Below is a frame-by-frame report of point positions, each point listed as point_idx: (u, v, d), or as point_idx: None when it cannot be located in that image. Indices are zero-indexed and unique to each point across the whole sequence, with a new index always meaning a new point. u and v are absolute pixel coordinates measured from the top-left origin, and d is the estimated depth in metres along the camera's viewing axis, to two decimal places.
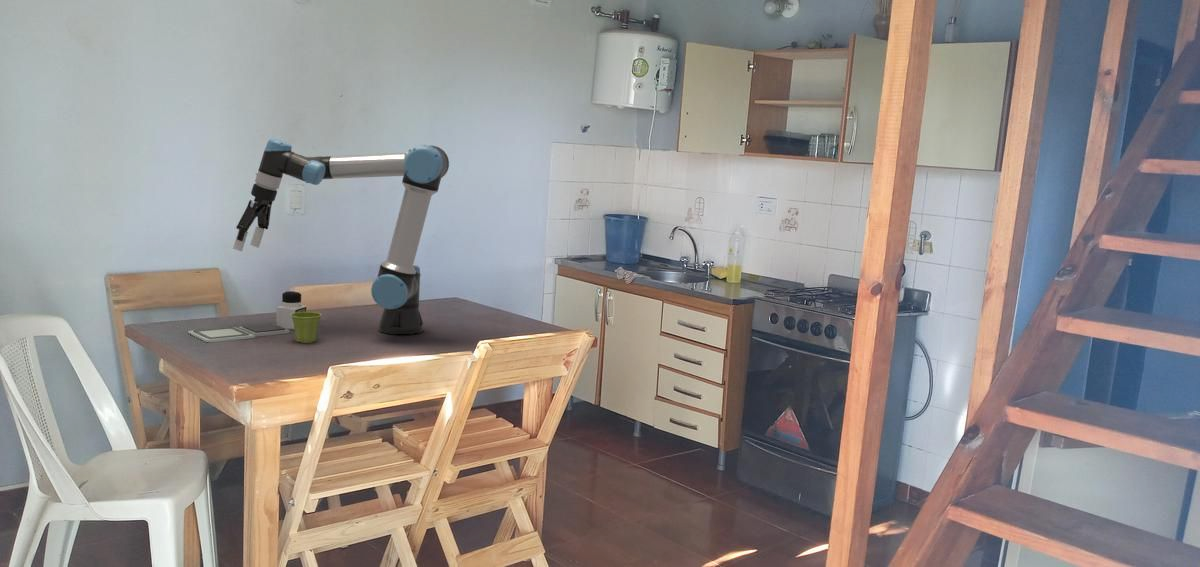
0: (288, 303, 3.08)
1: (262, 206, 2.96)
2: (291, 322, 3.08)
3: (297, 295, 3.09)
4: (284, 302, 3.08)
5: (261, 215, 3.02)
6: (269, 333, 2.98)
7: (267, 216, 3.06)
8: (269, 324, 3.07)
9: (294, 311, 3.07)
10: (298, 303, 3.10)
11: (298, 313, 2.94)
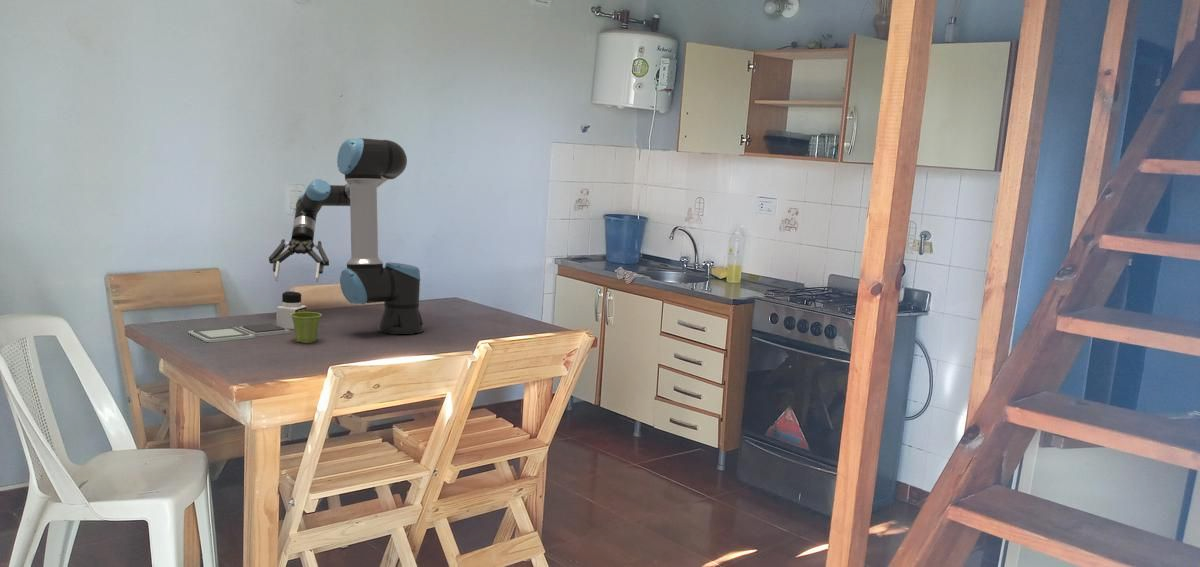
0: (288, 303, 3.08)
1: None
2: (291, 322, 3.08)
3: (297, 295, 3.09)
4: (284, 302, 3.08)
5: (310, 253, 3.27)
6: (269, 333, 2.98)
7: (321, 254, 3.27)
8: (269, 324, 3.07)
9: (294, 311, 3.07)
10: (298, 303, 3.10)
11: (298, 313, 2.94)
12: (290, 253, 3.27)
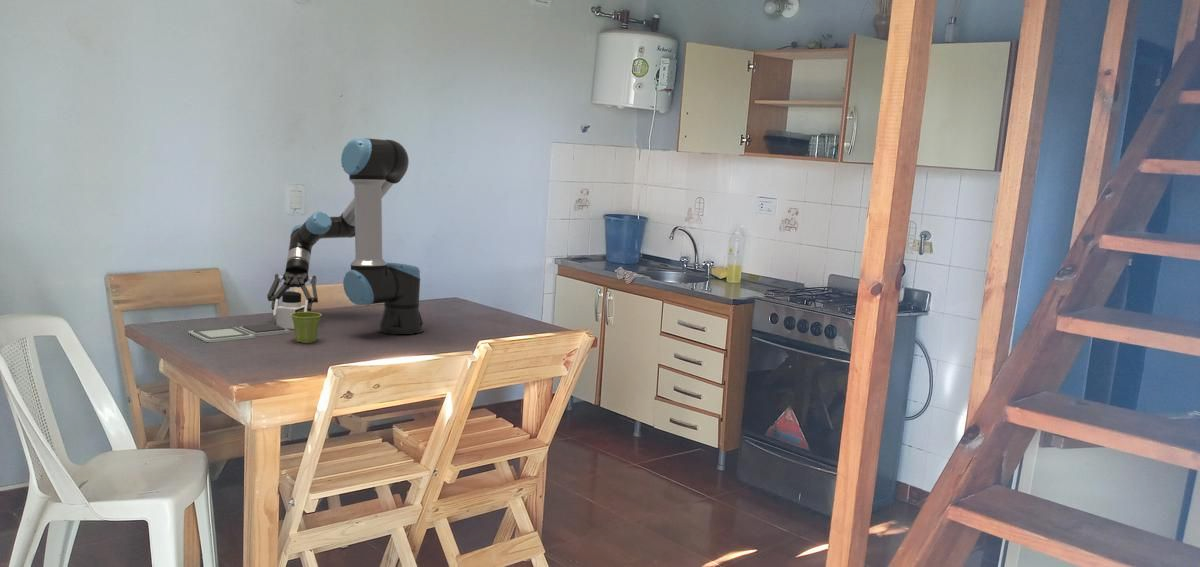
0: (288, 303, 3.08)
1: None
2: (291, 322, 3.08)
3: (297, 295, 3.09)
4: (284, 302, 3.08)
5: (302, 288, 3.16)
6: (269, 333, 2.98)
7: None
8: (269, 324, 3.07)
9: (294, 311, 3.07)
10: (298, 303, 3.10)
11: (298, 313, 2.94)
12: (286, 288, 3.16)
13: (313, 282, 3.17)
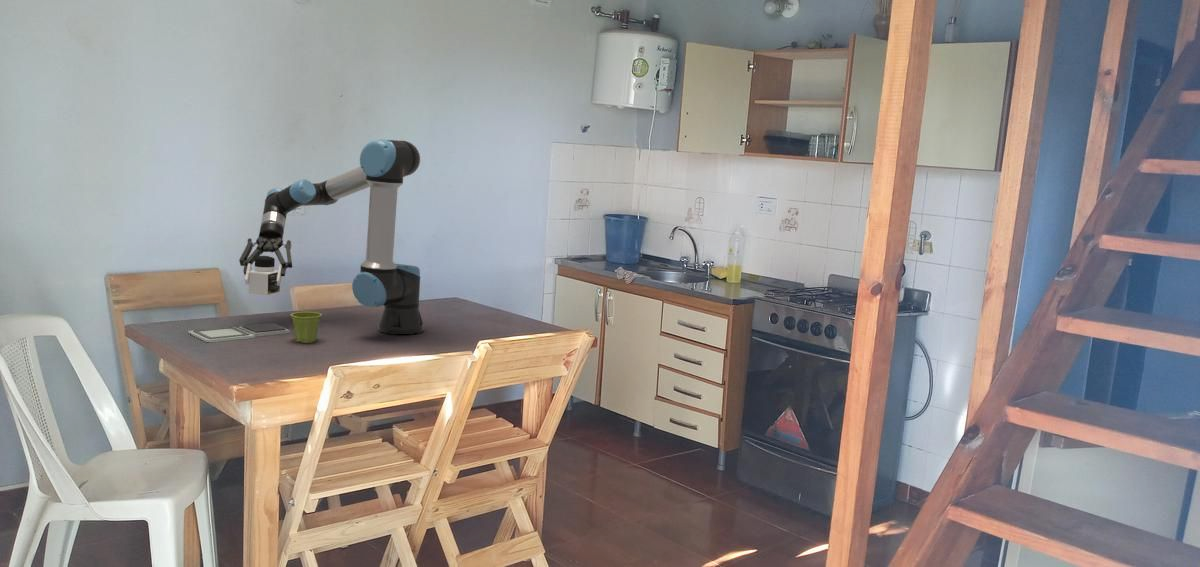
0: (261, 267, 2.97)
1: None
2: (264, 287, 2.97)
3: (270, 259, 2.98)
4: (256, 266, 2.97)
5: (276, 253, 3.04)
6: (269, 333, 2.98)
7: None
8: (269, 324, 3.07)
9: (267, 276, 2.96)
10: (271, 268, 2.98)
11: (298, 313, 2.94)
12: (260, 252, 3.04)
13: (287, 247, 3.05)
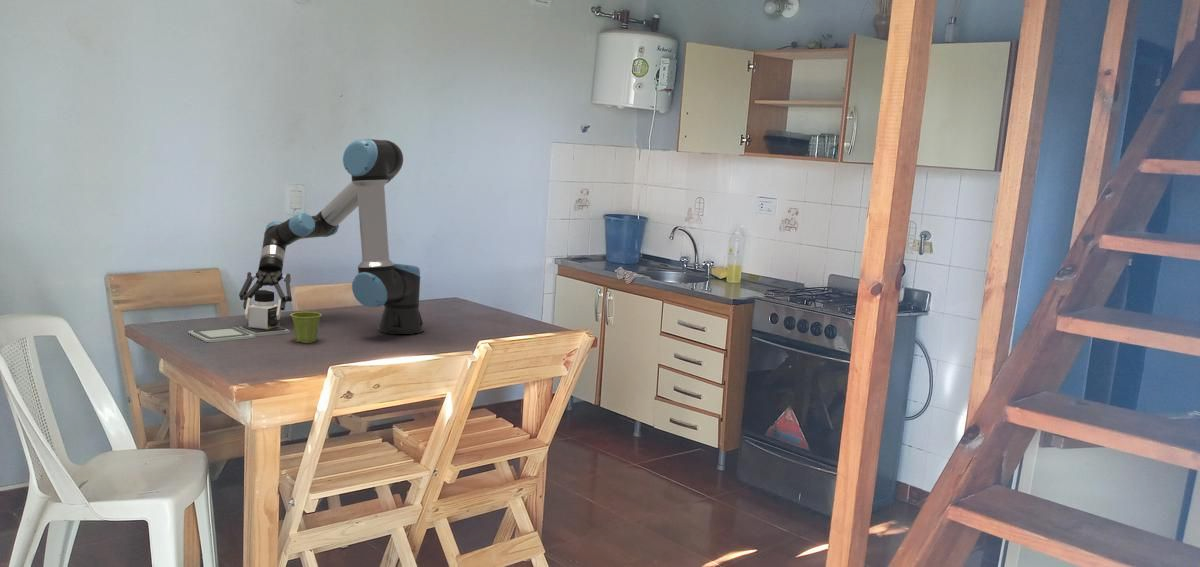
0: (260, 302, 2.98)
1: None
2: (263, 322, 2.98)
3: (270, 294, 2.99)
4: (256, 301, 2.99)
5: (275, 287, 3.06)
6: (269, 333, 2.98)
7: (286, 288, 3.06)
8: None
9: (266, 310, 2.97)
10: (271, 302, 3.00)
11: (298, 313, 2.94)
12: (259, 286, 3.06)
13: (287, 280, 3.07)
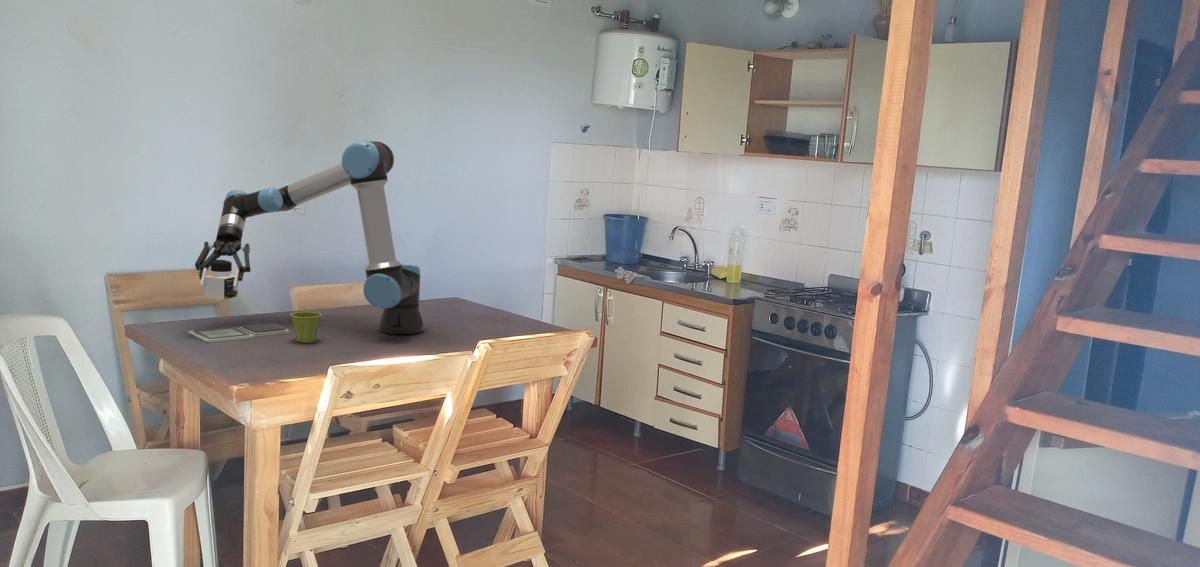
0: (217, 272, 2.87)
1: None
2: (220, 292, 2.87)
3: (227, 263, 2.88)
4: (212, 271, 2.87)
5: (233, 257, 2.95)
6: (269, 333, 2.98)
7: None
8: (269, 324, 3.07)
9: (223, 280, 2.86)
10: (228, 272, 2.89)
11: (298, 313, 2.94)
12: (217, 256, 2.94)
13: (246, 250, 2.96)
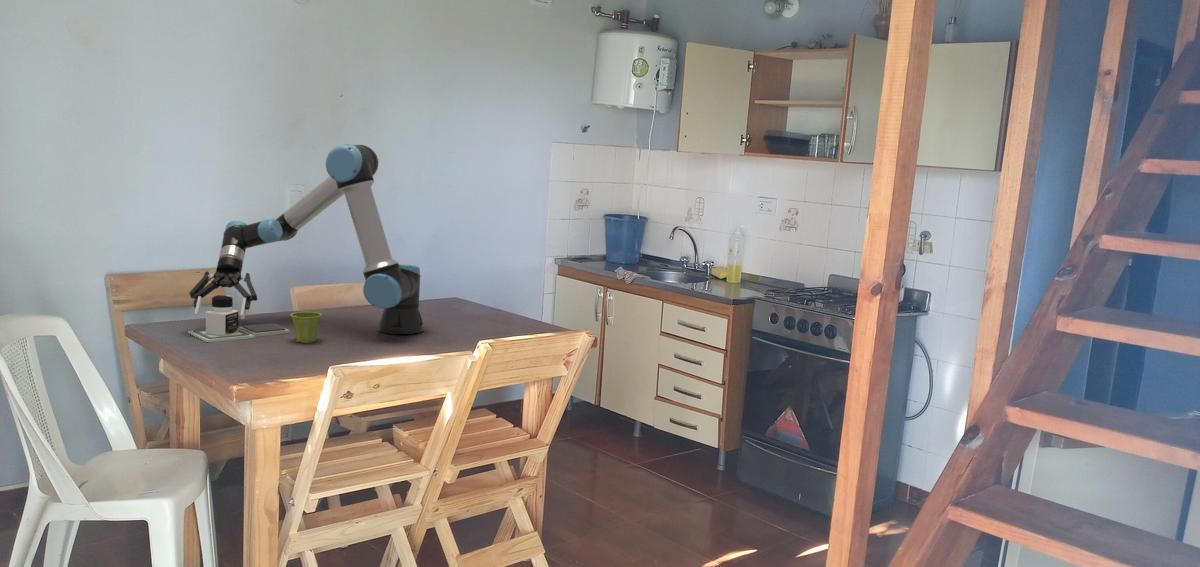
0: (218, 308, 2.89)
1: None
2: (221, 328, 2.89)
3: (228, 299, 2.90)
4: (214, 307, 2.89)
5: (237, 287, 2.96)
6: (269, 333, 2.98)
7: (249, 287, 2.96)
8: (269, 324, 3.07)
9: (224, 316, 2.88)
10: (229, 308, 2.90)
11: (298, 313, 2.94)
12: (214, 287, 2.96)
13: (248, 280, 2.98)
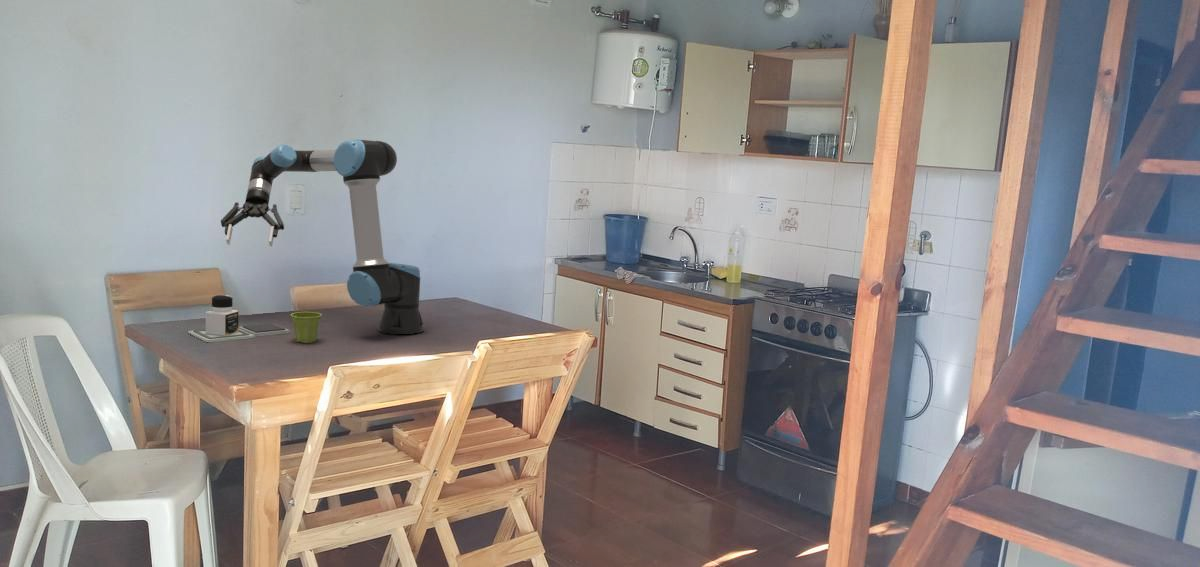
0: (218, 308, 2.89)
1: None
2: (221, 328, 2.89)
3: (228, 299, 2.90)
4: (213, 307, 2.89)
5: (265, 217, 3.15)
6: (269, 333, 2.98)
7: (276, 217, 3.15)
8: (269, 324, 3.07)
9: (224, 316, 2.88)
10: (229, 308, 2.90)
11: (298, 313, 2.94)
12: (244, 216, 3.14)
13: (275, 210, 3.16)
